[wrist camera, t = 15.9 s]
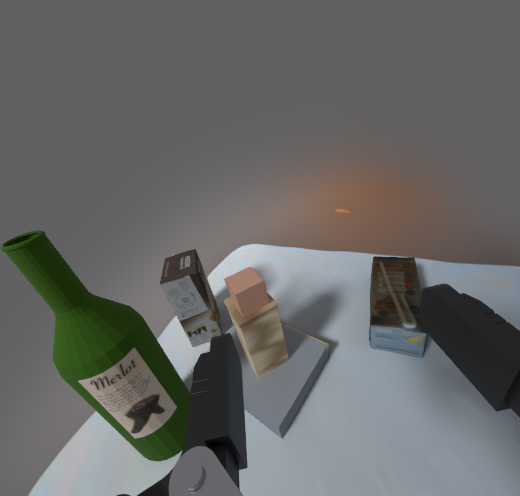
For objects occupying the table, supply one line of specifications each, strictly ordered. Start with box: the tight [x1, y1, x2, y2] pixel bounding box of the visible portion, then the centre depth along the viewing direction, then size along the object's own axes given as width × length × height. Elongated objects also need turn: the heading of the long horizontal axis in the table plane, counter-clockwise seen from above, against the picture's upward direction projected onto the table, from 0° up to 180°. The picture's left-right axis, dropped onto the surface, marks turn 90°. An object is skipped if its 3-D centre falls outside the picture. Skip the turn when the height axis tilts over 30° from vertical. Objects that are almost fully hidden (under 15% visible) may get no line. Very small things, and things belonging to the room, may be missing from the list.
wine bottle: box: [1, 231, 191, 461], centre depth 29 cm, size 9×9×32 cm
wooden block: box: [223, 293, 289, 379], centre depth 38 cm, size 6×6×12 cm
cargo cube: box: [224, 267, 270, 318], centre depth 33 cm, size 4×4×4 cm
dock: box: [234, 323, 329, 438], centre depth 41 cm, size 14×14×3 cm
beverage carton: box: [369, 257, 427, 357], centre depth 45 cm, size 8×19×7 cm, turn 158°
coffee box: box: [160, 249, 222, 347], centre depth 49 cm, size 9×6×16 cm
